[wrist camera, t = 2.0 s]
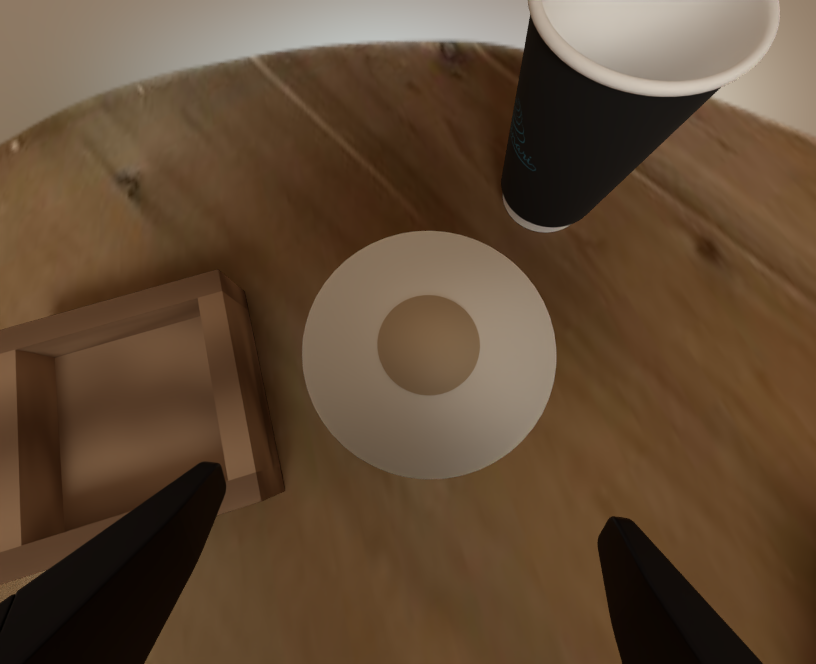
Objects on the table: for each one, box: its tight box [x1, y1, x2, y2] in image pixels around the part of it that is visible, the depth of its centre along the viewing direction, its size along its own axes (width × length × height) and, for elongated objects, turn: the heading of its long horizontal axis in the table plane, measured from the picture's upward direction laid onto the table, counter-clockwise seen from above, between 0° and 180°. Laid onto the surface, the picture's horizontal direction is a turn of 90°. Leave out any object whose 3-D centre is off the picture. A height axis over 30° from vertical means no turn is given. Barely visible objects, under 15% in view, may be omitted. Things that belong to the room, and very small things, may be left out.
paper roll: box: [302, 231, 556, 479], centre depth 14 cm, size 6×6×12 cm
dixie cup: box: [501, 0, 780, 232], centre depth 17 cm, size 8×8×11 cm
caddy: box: [0, 269, 285, 585], centre depth 18 cm, size 11×11×3 cm
